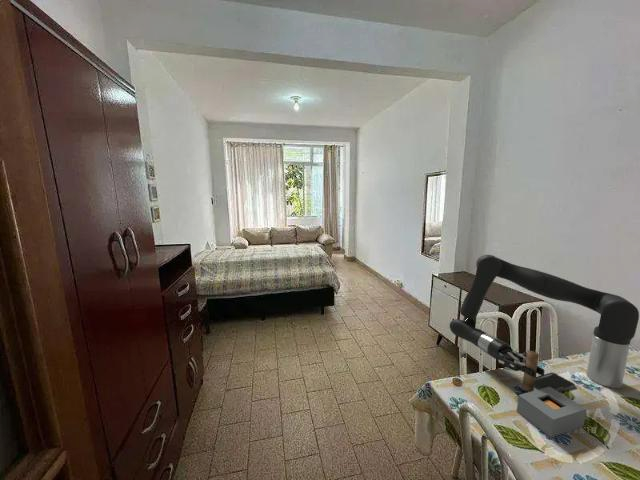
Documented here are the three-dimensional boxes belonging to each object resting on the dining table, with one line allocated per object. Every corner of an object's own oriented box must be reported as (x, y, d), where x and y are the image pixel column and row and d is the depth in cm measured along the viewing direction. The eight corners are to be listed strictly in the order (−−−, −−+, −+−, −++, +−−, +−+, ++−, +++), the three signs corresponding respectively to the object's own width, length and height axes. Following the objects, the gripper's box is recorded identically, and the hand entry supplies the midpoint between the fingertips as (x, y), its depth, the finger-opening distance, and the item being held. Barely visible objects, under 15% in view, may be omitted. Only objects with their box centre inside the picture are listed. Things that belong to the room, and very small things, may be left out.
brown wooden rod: (526, 385, 95) (531, 350, 93) (535, 391, 92) (541, 355, 90) (519, 386, 94) (524, 351, 92) (528, 393, 91) (534, 356, 89)
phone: (525, 380, 99) (552, 372, 104) (525, 382, 99) (552, 374, 104) (549, 394, 92) (577, 385, 96) (549, 397, 92) (576, 387, 97)
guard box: (547, 402, 89) (549, 386, 88) (583, 426, 80) (586, 408, 79) (516, 411, 85) (518, 395, 84) (550, 437, 76) (553, 419, 75)
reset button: (547, 410, 85) (548, 399, 84) (559, 419, 81) (561, 408, 81) (538, 413, 84) (540, 402, 83) (551, 422, 80) (553, 410, 80)
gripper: (481, 340, 103) (525, 367, 87) (508, 335, 107) (555, 360, 91) (479, 358, 104) (523, 387, 88) (506, 352, 108) (552, 380, 92)
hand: (539, 373), depth 89 cm, fingers closed on brown wooden rod, 3 cm apart
